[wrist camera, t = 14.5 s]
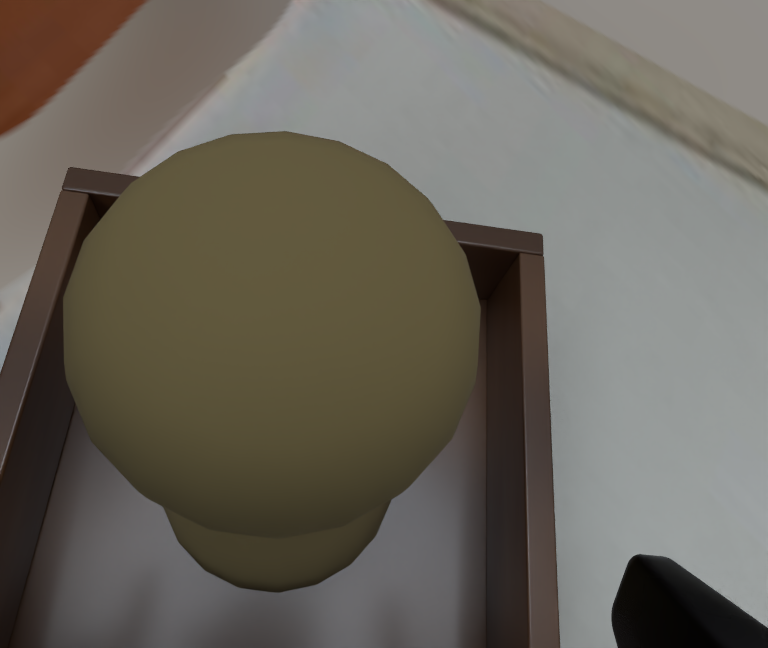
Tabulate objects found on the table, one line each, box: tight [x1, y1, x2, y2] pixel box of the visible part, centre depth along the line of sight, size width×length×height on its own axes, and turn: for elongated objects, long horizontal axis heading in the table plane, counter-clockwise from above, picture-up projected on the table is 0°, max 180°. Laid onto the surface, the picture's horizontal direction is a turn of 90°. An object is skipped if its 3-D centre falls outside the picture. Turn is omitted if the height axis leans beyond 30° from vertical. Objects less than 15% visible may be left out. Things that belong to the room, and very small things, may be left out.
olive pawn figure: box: [63, 131, 481, 593], centre depth 12 cm, size 6×6×11 cm
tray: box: [0, 167, 560, 648], centre depth 16 cm, size 12×12×4 cm
